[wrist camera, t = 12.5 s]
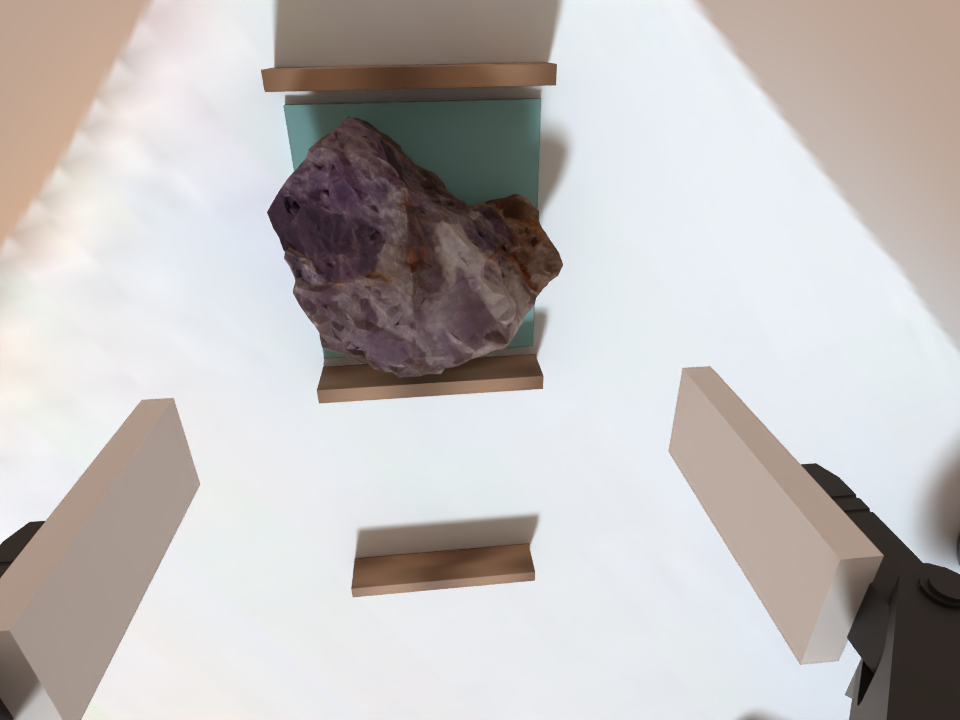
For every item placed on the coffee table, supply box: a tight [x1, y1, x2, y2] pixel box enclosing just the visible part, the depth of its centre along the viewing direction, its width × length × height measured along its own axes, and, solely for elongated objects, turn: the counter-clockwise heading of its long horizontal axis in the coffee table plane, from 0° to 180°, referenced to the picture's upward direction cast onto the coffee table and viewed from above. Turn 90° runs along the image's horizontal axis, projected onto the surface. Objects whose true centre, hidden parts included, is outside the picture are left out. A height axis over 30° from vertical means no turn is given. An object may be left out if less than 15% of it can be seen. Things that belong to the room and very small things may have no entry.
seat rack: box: [261, 62, 557, 597], centre depth 32 cm, size 12×31×2 cm, turn 1°
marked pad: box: [284, 99, 541, 359], centre depth 30 cm, size 12×13×1 cm
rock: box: [267, 116, 563, 378], centre depth 26 cm, size 12×9×10 cm
